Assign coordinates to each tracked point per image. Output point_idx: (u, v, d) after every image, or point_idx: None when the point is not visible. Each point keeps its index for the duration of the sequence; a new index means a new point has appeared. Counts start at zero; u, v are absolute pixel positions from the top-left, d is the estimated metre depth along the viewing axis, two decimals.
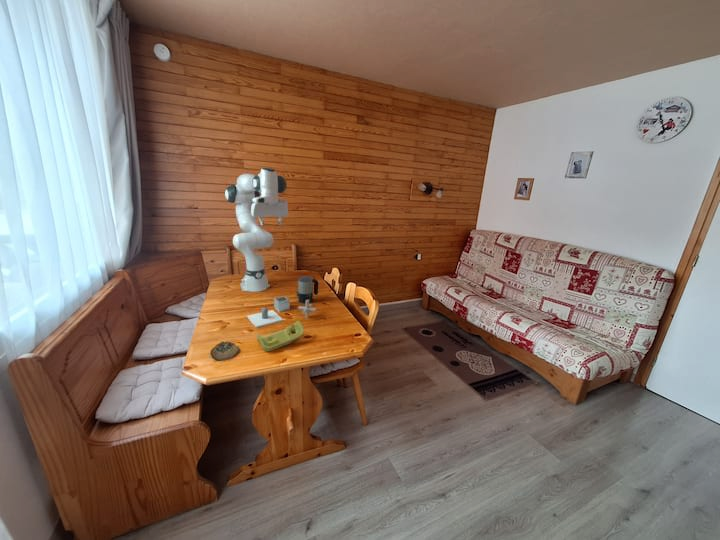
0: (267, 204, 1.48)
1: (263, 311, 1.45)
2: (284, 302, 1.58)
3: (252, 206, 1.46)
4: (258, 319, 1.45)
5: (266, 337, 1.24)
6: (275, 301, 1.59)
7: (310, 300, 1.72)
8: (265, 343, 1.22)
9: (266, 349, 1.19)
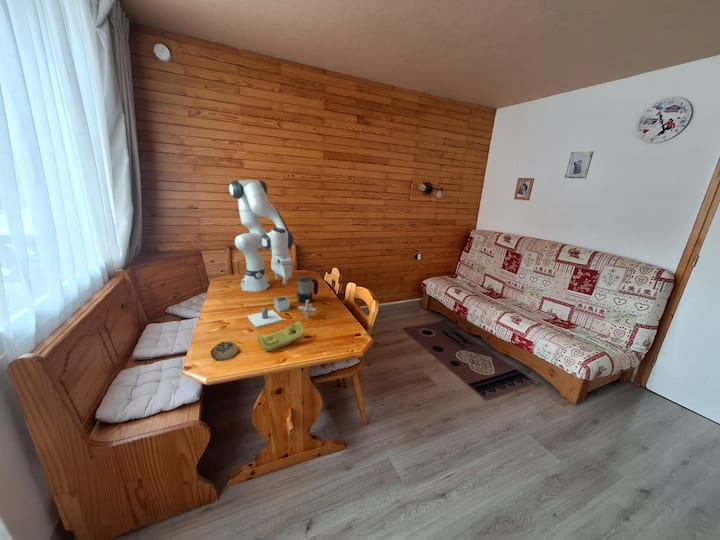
0: None
1: (263, 311, 1.45)
2: (284, 302, 1.58)
3: (287, 268, 1.47)
4: (258, 319, 1.45)
5: (266, 337, 1.24)
6: (275, 301, 1.59)
7: (310, 300, 1.72)
8: (265, 343, 1.22)
9: (266, 349, 1.19)
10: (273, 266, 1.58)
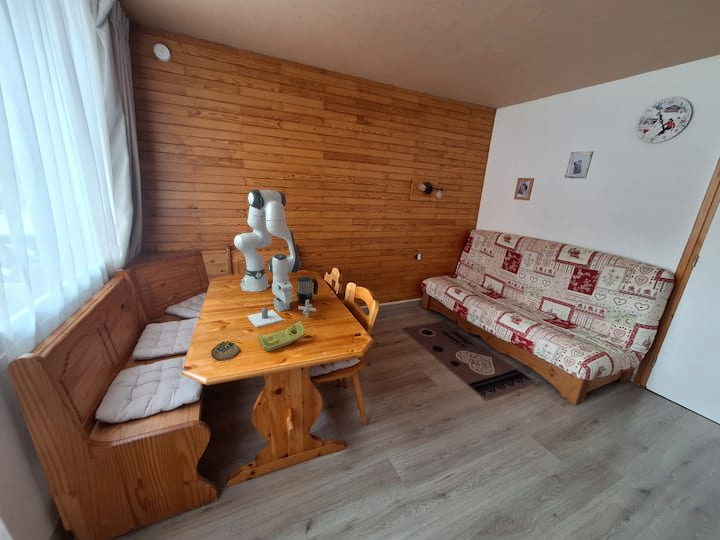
0: None
1: (263, 311, 1.45)
2: None
3: (288, 294, 1.51)
4: (258, 319, 1.45)
5: (267, 337, 1.24)
6: (275, 301, 1.59)
7: (309, 300, 1.72)
8: (266, 343, 1.22)
9: (266, 349, 1.19)
10: (274, 290, 1.62)
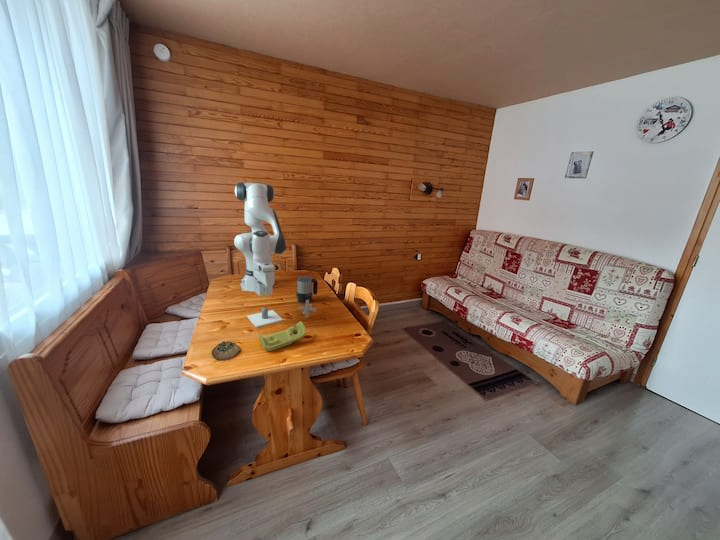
0: None
1: (263, 311, 1.45)
2: None
3: (269, 276, 1.33)
4: (258, 319, 1.45)
5: (268, 337, 1.25)
6: (256, 285, 1.41)
7: (309, 300, 1.72)
8: (266, 343, 1.22)
9: (267, 349, 1.19)
10: (255, 273, 1.44)
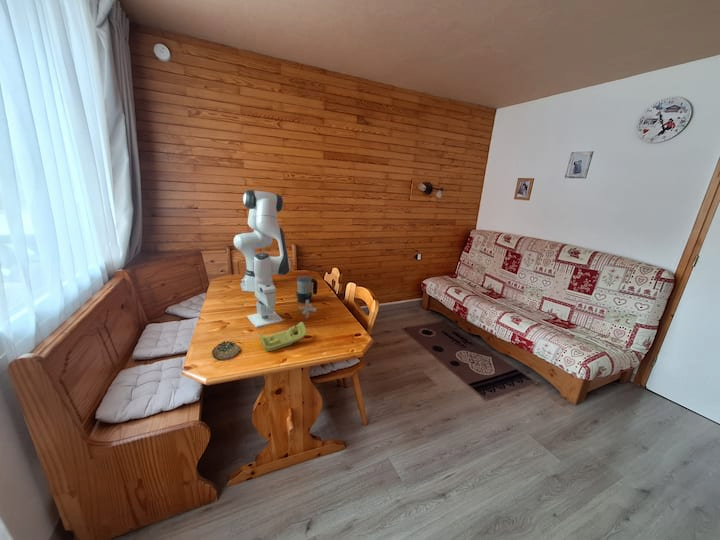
0: None
1: None
2: None
3: (270, 297, 1.36)
4: (258, 319, 1.45)
5: (268, 337, 1.25)
6: (257, 305, 1.44)
7: (309, 300, 1.72)
8: (267, 343, 1.22)
9: (267, 349, 1.19)
10: (256, 293, 1.47)
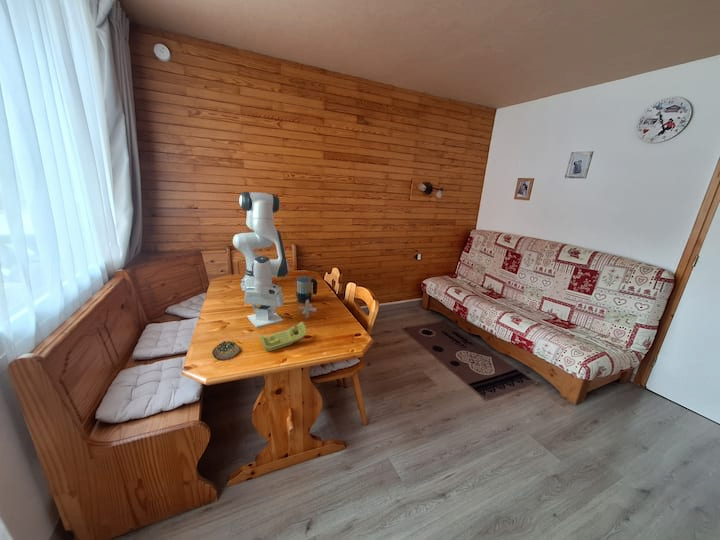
0: None
1: None
2: (270, 309, 1.46)
3: (281, 296, 1.43)
4: None
5: (269, 337, 1.25)
6: (259, 311, 1.43)
7: (309, 300, 1.72)
8: (267, 343, 1.22)
9: (267, 349, 1.19)
10: (251, 299, 1.43)
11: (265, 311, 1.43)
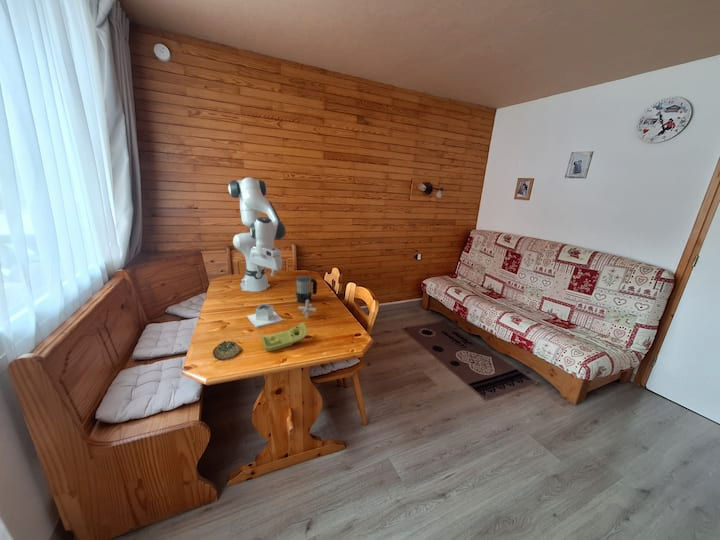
0: None
1: None
2: (270, 309, 1.46)
3: (278, 260, 1.41)
4: None
5: (269, 337, 1.25)
6: (259, 311, 1.43)
7: None
8: (267, 343, 1.22)
9: (267, 349, 1.19)
10: (254, 259, 1.47)
11: (265, 311, 1.43)
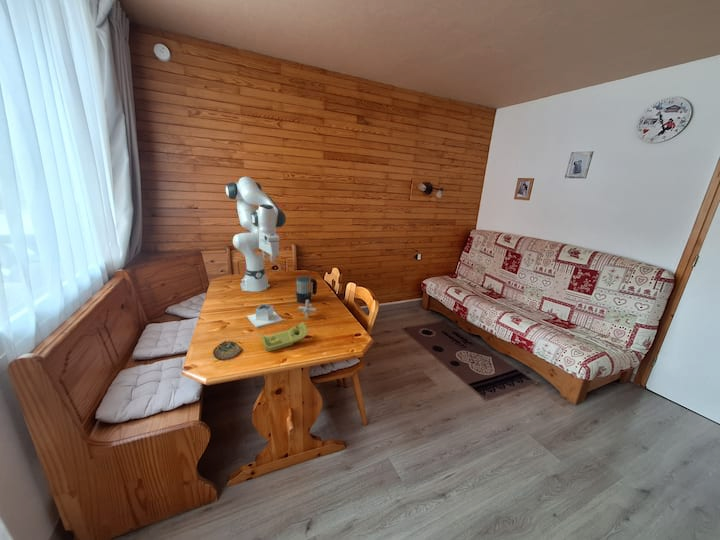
0: None
1: None
2: (270, 309, 1.46)
3: (274, 245, 1.43)
4: None
5: (269, 336, 1.25)
6: (259, 311, 1.43)
7: None
8: (268, 342, 1.22)
9: (267, 349, 1.19)
10: (261, 244, 1.54)
11: (265, 311, 1.43)
